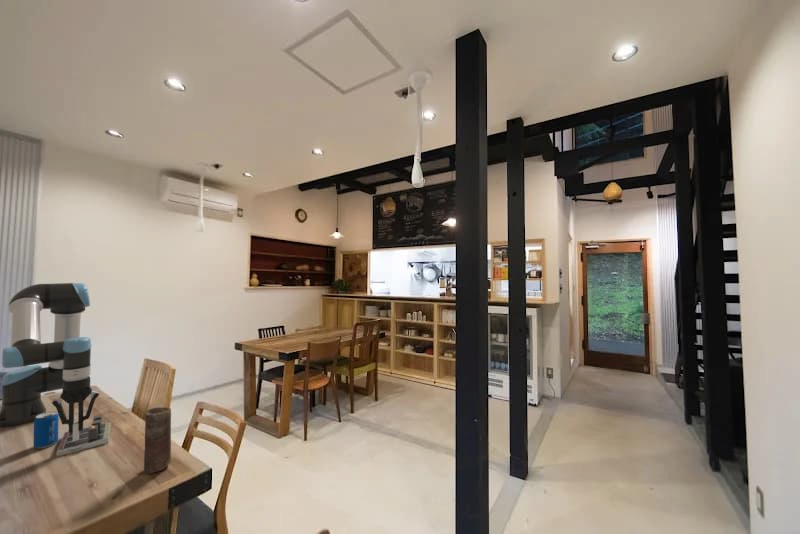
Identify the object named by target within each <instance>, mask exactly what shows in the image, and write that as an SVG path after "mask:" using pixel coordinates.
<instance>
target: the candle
mask: <svg viewBox="0 0 800 534" xmlns="http://www.w3.org/2000/svg"><path fill="white" fill-rule="evenodd" d="M144 419H145V421H144V423H145V424H144V456H143V457H144V458H143V459H144V460H143V468H144V469H143V473H144V474H149V475H150V474H152V473H156V472H159V471H161V470H162V471H163V470H164V469H165V468H166V467H168V465H169V464H170V463H171V461H172V457H171V456H172V449H171V448H172V443H171V442H172V438H171V437H172V432H171V431H172V409H171V407H167V406H166V407H165V406H162V407H158V406H157V407H153V408H150V409H148V410H146V412H145V418H144Z"/></svg>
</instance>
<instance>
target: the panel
mask: <svg viewBox="0 0 800 534" xmlns="http://www.w3.org/2000/svg"><path fill="white" fill-rule="evenodd" d="M89 427H90V426H87V427H83V429H82V430H80V431H79V439H78V440H77V441H73V432H71V433H69V431H66V432H64V433H63V435H62V438H61V441H60V443H59V445H58V447H57V451H56V457H61V456H64V455H68V454H72V453H77V452H80V451H83V450H88V449H92V448H96V447H99V446H103V445H107V444H109V441H110V435H111V428H112V421H109V422H105V423H102V426H101V431H100V432H99V433H98V436H97V439H93V440H88V430H89Z"/></svg>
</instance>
